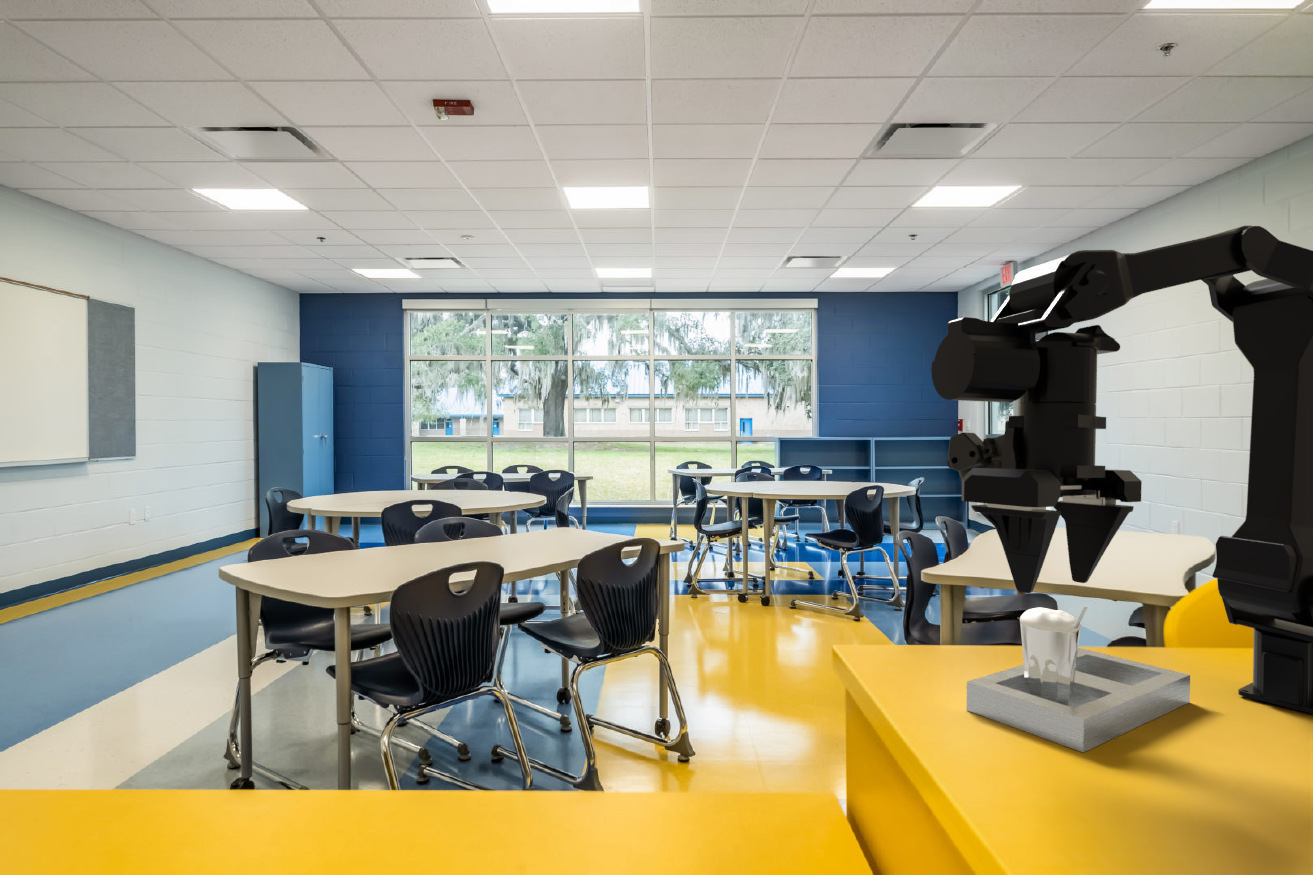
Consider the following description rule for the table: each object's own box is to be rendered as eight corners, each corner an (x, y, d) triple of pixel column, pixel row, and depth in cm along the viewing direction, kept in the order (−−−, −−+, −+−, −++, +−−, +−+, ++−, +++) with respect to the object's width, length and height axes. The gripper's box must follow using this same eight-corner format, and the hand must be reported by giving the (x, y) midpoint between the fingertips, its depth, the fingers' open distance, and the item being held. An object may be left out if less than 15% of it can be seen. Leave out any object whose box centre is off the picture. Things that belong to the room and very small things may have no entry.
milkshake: (1066, 734, 55) (1068, 609, 55) (1006, 710, 60) (1008, 595, 60) (1101, 725, 57) (1103, 604, 57) (1040, 702, 62) (1042, 591, 62)
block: (1079, 672, 71) (1079, 647, 71) (1189, 702, 63) (1190, 674, 63) (966, 710, 60) (967, 681, 60) (1083, 752, 52) (1083, 719, 52)
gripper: (1021, 412, 71) (1018, 563, 70) (907, 402, 60) (903, 579, 60) (1145, 409, 61) (1142, 583, 61) (1036, 396, 51) (1031, 606, 51)
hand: (1053, 586), depth 59 cm, fingers open, 9 cm apart
